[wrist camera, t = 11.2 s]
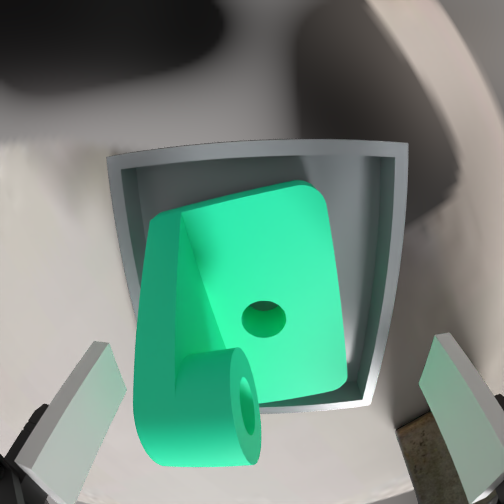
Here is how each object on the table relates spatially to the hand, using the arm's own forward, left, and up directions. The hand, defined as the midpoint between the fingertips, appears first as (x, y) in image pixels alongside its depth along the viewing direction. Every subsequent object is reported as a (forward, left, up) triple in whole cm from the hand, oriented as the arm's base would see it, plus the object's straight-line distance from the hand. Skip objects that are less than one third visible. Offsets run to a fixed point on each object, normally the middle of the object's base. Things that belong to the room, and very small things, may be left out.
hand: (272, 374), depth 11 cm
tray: (0, 0, -7) cm, 7 cm away
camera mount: (0, 0, -7) cm, 7 cm away
